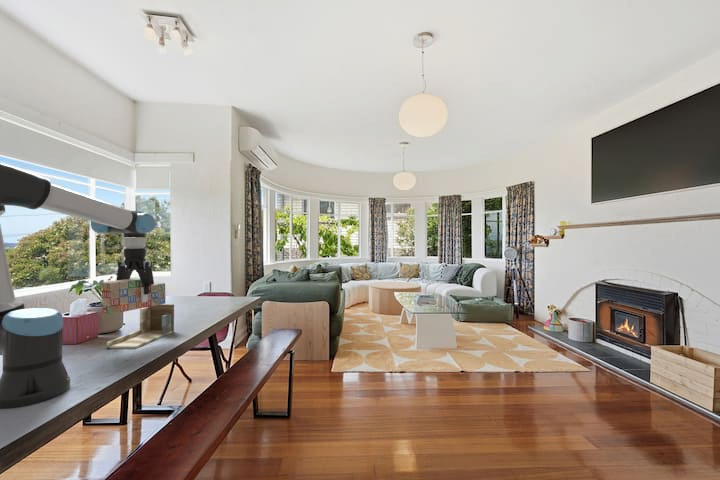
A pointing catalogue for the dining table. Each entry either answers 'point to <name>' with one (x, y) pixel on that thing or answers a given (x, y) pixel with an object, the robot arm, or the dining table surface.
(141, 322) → the alphabet block box
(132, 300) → the stack of blocks
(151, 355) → the dining table surface
